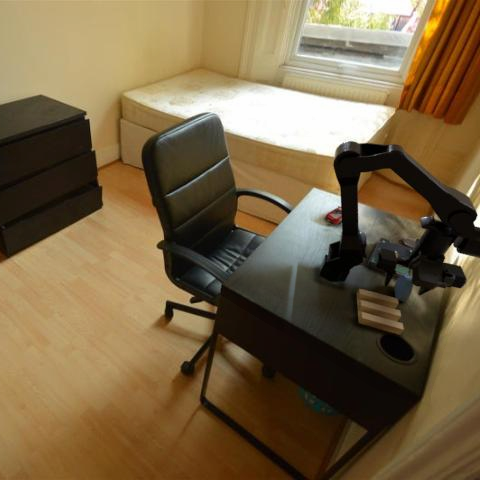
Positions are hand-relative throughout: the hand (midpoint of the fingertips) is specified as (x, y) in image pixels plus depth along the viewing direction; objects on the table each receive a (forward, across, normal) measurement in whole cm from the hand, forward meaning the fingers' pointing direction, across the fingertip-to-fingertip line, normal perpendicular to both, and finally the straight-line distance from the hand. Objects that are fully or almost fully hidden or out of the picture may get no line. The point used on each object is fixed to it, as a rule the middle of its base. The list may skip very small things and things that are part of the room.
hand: (401, 289), depth 88 cm
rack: (+3, -6, -9) cm, 11 cm away
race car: (+3, -14, +34) cm, 37 cm away
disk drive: (+3, 0, +15) cm, 15 cm away
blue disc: (+3, 0, 0) cm, 3 cm away
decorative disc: (+3, +8, +27) cm, 28 cm away
